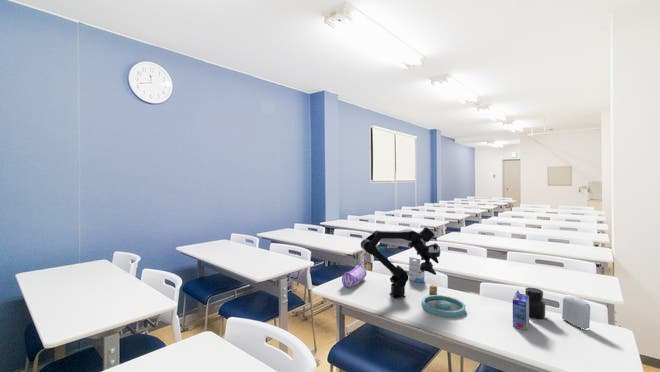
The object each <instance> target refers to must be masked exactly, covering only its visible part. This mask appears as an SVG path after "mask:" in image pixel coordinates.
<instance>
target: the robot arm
mask: <svg viewBox="0 0 660 372" xmlns="http://www.w3.org/2000/svg"><path fill="white" fill-rule="evenodd" d="M434 237H436V236H435V233H434V231H432V230H431V229H430V228H428V227H424V228H423V229H422V230H420V231H419V232H417V231H415V230H413V229H411V228H408V229H407V228H406V229H402V230H397V231H396V230H375V231H374V232H373V233H372V234H370V235H368V236H367V237H366V238H365V239H362V240H361V242H360V248H361V249H362V250H363V251H364V252H366V253H368V254H370V255H371V256H373V257H374V258H375V259H376V260H377V261H379V263H380V264H381V265H383V266H384V267H385V268H386V269H387V270H388V271H389V272H390V274H392V276H391V277H389V281H390V283H391V285H390V292H389V295H390V296H391V297H393V298H395V299H402V298H406V297H407V296H406V295H405V294H406V293H405V292H406V290H405V289H406V285H407V282H408V280H409V274H408V272H407V271H405V269H404V268H402V267H401V266H400V265H396V266H395V265H394V263H392V262H391V261H390V260H389V259H388V258H387V257H386V256H385V255H383V254H382V253H381V252H380V251H379V250H378V247H377V245H378V244H379V242H380V240H382V239H383V240H385V239H386V240H387V239H388V240H389V239H393V240H394V239H395V240H398V239H399V240H400V239H401V240H405V241H407V242H408V244H407V247H408V248H410V249H412V248H413V249H414V250H415V251H416V255H417V256H419V257H420V261H424V262H422V263H421V266H420V270H421V271H422V272H424V273H425V272H428V273H430V274H432V275H435V276H436V275H437V272H436V271H435V268H434V267H433V266H434V264H433V263H432V261H433V262H435V263H436V264H439V259H438V258H439V257H440V256H441V247H440V245H438V244H437V243H431V244H429V245H426V244H427V243H429V242H430V241H431V240H432V239H433V238H434ZM425 243H426V244H425ZM431 260H432V261H431Z"/></svg>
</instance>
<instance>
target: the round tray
mask: <svg viewBox="0 0 660 372" xmlns="http://www.w3.org/2000/svg"><path fill="white" fill-rule="evenodd" d="M421 307H422V309H424V310H425V311H426V312H428V313H430V314H433V315H435V316H439V317H443V318H457V317H462V316H464V315H466V314H465V313H466V304H465V302H463V301H461V300H460V299H457V298H455V297H451V296H447V295H441V294H439V295H438V294H437V295H430V294H429V295H427V296H424V297H422V299H421Z"/></svg>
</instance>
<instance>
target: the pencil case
mask: <svg viewBox="0 0 660 372" xmlns="http://www.w3.org/2000/svg"><path fill="white" fill-rule="evenodd" d="M366 276H367V269H366V268H365V266H363V265H362V264H361V263H358V264H357V265H356V266H354V268H352V269H351V270H350V271H347V272H344V274H342V277H341V283H342V285H343V287H345V288H348V289H352V288H353V287H355V286H356V285H358V284H359V283H361V281H362V280H364V279H365V278H366Z"/></svg>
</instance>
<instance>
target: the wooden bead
mask: <svg viewBox="0 0 660 372" xmlns="http://www.w3.org/2000/svg"><path fill="white" fill-rule="evenodd" d="M428 289H429V290H428V292H429V296H430V295H438V286H437V285H434V284H431V285H429V288H428Z"/></svg>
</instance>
